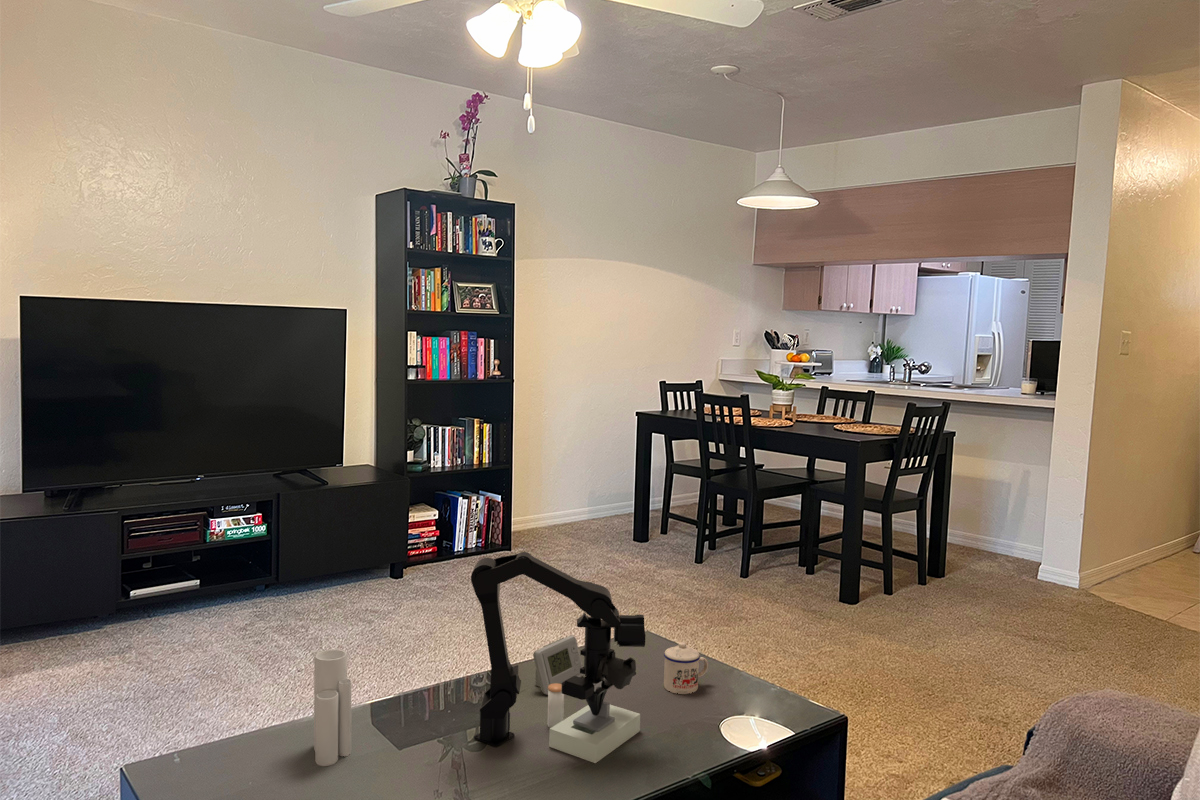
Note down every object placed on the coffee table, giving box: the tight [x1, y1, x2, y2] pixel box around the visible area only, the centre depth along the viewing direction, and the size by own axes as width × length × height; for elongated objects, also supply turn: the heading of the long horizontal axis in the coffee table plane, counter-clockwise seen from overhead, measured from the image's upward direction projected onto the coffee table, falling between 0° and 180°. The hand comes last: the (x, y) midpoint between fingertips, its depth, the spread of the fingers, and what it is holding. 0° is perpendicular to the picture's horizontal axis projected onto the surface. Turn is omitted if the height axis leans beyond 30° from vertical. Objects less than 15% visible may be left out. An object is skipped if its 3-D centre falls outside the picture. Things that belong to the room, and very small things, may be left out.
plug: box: [546, 683, 565, 729], centre depth 194 cm, size 4×4×9 cm
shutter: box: [573, 700, 615, 732], centre depth 187 cm, size 7×7×4 cm
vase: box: [313, 648, 352, 767], centre depth 178 cm, size 11×7×20 cm, turn 22°
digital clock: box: [532, 634, 585, 695], centre depth 217 cm, size 16×9×11 cm, turn 133°
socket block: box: [548, 704, 641, 764], centre depth 188 cm, size 18×12×4 cm, turn 147°
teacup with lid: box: [663, 641, 709, 695], centre depth 217 cm, size 12×9×12 cm
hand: (595, 714), depth 187 cm, fingers closed
